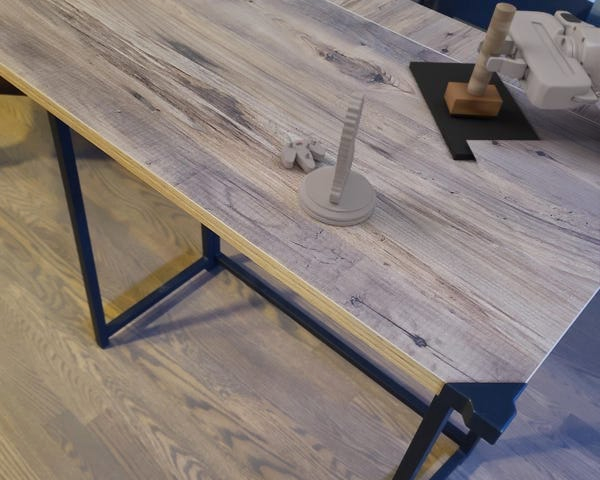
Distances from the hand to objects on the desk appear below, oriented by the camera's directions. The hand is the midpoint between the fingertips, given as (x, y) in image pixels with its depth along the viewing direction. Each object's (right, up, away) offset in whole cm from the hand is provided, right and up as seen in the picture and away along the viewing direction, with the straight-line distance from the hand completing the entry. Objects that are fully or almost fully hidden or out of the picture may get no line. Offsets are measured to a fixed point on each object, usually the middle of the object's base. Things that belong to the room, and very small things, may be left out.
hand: (482, 54), depth 81 cm
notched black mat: (+1, -5, +9) cm, 10 cm away
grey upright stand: (-20, -21, -7) cm, 30 cm away
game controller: (-26, -13, -2) cm, 29 cm away
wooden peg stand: (0, -5, +7) cm, 9 cm away
